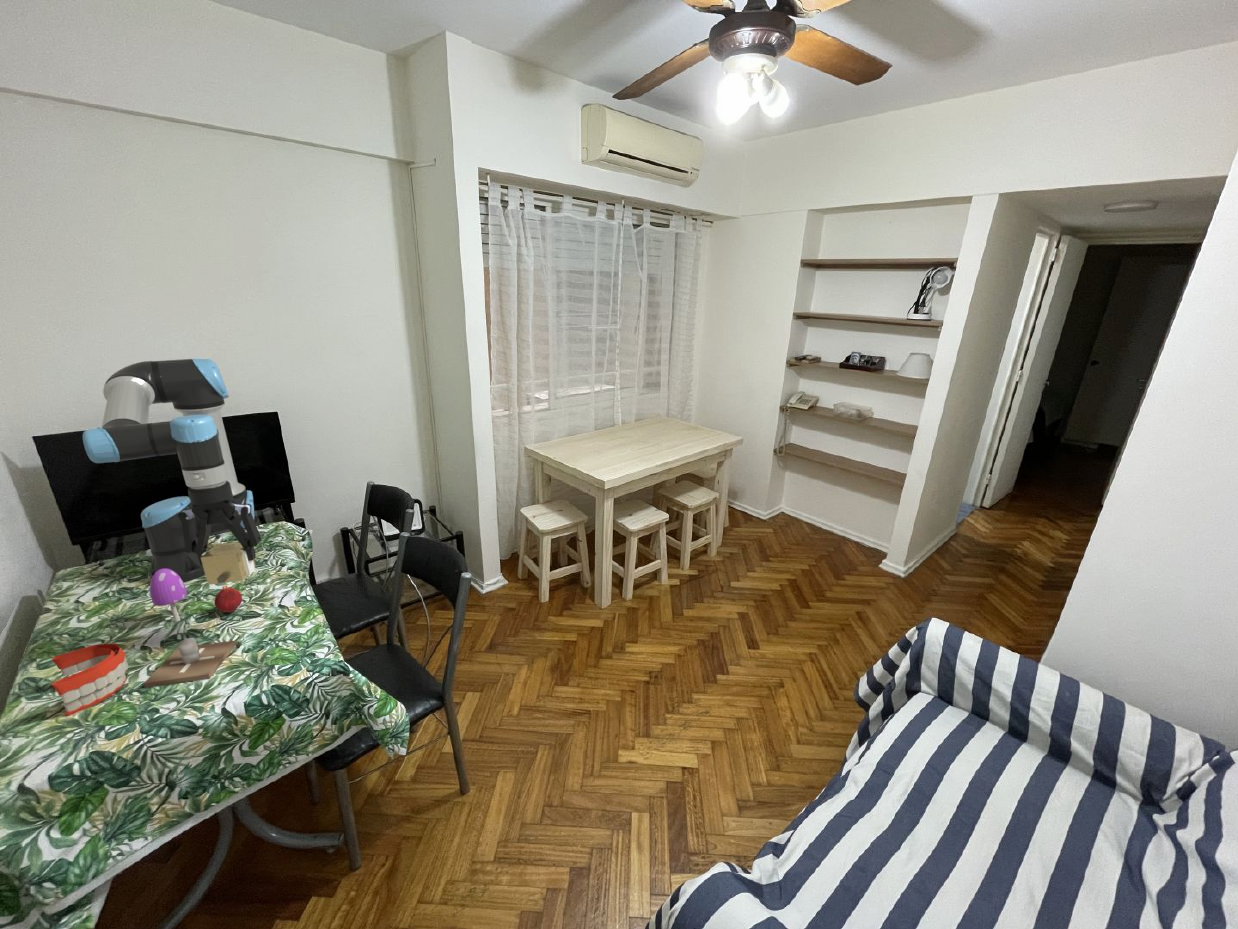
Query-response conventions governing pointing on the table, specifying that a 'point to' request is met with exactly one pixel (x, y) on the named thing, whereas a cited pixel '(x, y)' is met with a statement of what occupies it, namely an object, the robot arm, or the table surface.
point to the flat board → (190, 663)
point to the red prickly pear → (228, 599)
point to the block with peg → (224, 563)
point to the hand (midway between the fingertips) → (232, 574)
